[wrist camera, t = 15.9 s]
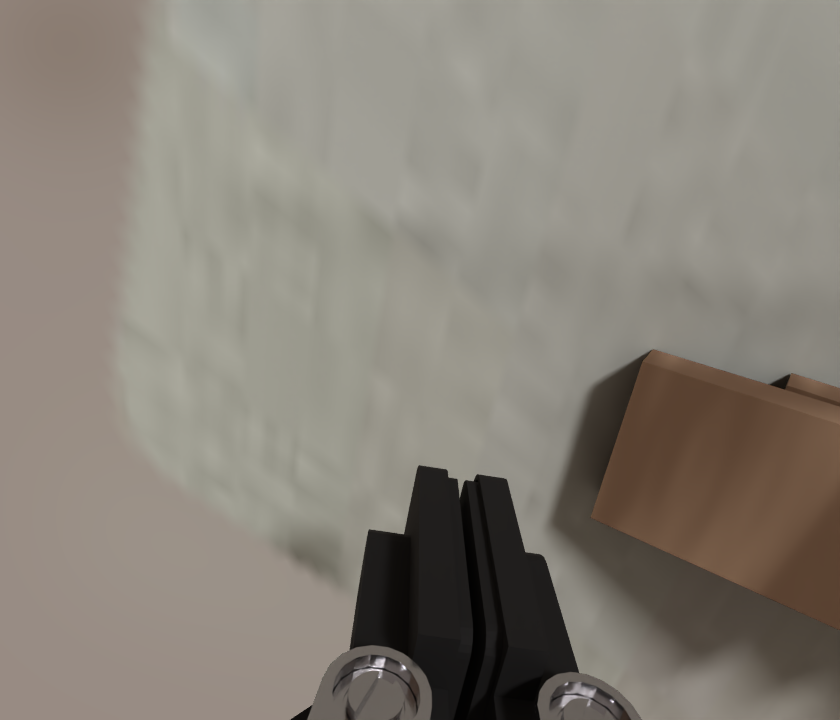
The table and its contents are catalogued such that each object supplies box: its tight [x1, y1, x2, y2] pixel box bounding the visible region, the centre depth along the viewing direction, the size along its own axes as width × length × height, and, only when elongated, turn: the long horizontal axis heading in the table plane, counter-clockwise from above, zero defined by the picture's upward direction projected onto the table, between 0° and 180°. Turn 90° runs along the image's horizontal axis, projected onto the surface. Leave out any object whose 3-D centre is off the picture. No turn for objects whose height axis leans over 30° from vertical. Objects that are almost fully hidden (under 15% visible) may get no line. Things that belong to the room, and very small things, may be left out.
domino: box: [591, 349, 840, 630], centre depth 15 cm, size 2×5×10 cm
